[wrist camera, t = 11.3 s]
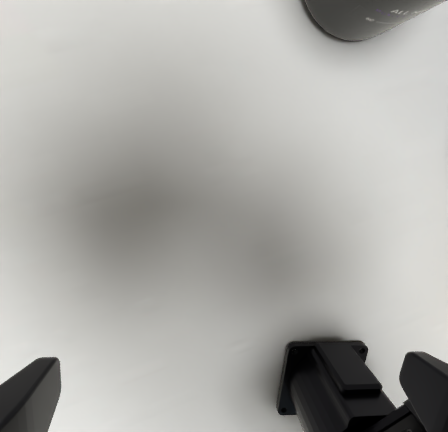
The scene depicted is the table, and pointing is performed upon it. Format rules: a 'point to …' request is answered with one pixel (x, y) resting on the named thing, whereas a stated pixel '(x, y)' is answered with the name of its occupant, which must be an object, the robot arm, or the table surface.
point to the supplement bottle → (365, 15)
